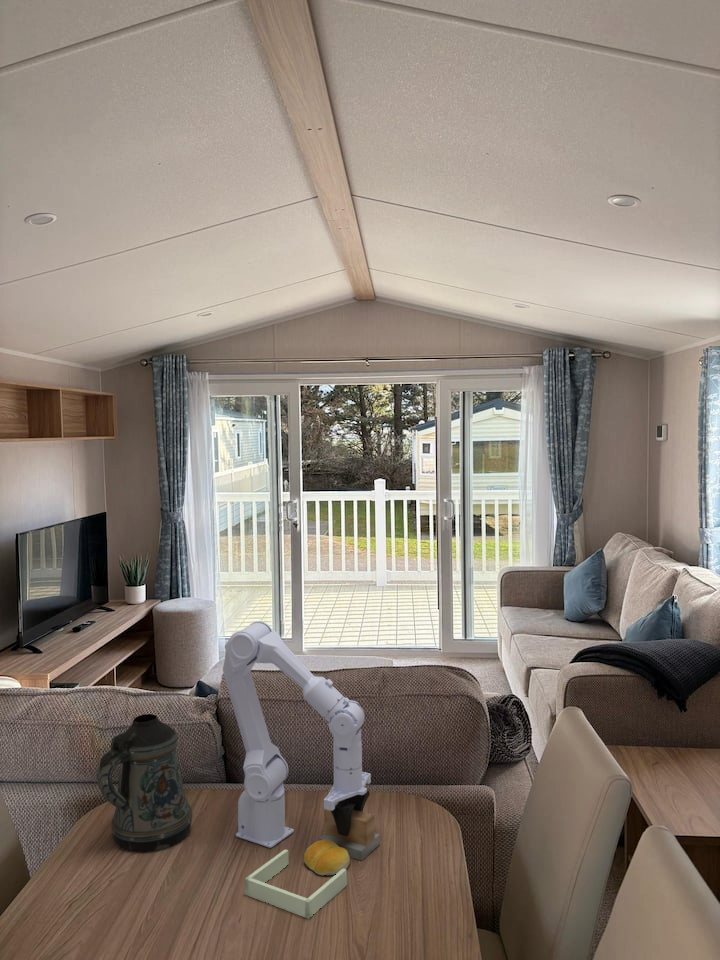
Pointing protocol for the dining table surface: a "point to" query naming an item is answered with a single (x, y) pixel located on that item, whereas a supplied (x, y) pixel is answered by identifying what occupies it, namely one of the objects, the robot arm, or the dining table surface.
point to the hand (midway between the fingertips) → (348, 830)
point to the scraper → (353, 834)
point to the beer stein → (146, 787)
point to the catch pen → (286, 899)
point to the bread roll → (326, 857)
